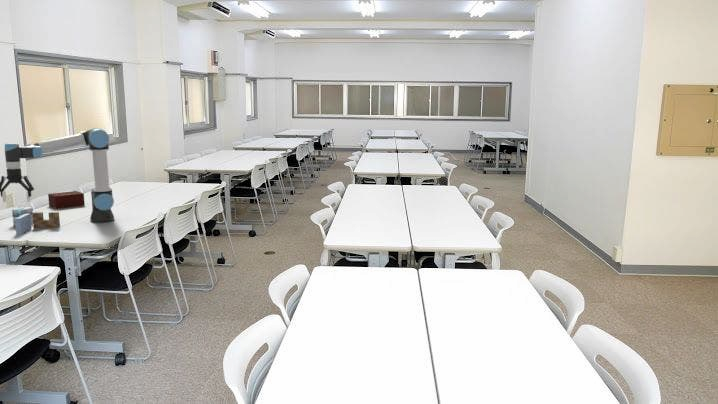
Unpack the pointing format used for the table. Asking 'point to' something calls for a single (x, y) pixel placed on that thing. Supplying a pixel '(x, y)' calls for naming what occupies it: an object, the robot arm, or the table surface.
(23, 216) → the blue-grey rectangular slab
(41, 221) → the brown wooden u-shaped block
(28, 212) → the light bulb box
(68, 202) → the box
